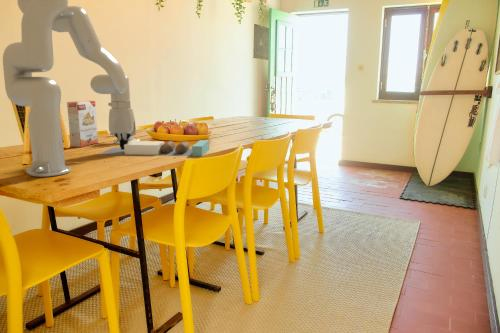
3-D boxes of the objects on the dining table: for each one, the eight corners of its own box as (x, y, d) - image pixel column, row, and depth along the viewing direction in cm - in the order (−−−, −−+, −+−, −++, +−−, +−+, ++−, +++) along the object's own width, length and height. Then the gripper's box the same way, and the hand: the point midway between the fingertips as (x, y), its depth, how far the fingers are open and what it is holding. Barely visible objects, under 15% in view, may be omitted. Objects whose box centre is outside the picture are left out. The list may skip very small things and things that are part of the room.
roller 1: (171, 148, 160) (164, 142, 160) (165, 155, 161) (158, 149, 161) (177, 145, 169) (170, 139, 169) (171, 151, 170) (164, 145, 170)
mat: (202, 157, 156) (202, 156, 156) (97, 155, 160) (97, 154, 160) (209, 150, 172) (209, 149, 172) (113, 148, 175) (113, 147, 175)
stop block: (202, 156, 156) (201, 146, 155) (192, 156, 157) (192, 146, 156) (209, 149, 172) (209, 140, 171) (200, 149, 172) (200, 140, 171)
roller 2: (183, 144, 159) (174, 145, 160) (185, 153, 160) (176, 154, 161) (188, 140, 168) (179, 141, 169) (190, 149, 169) (181, 150, 169)
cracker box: (81, 147, 178) (77, 101, 174) (70, 147, 179) (65, 101, 175) (99, 142, 192) (95, 100, 187) (88, 142, 193) (84, 100, 188)
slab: (158, 154, 159) (157, 145, 158) (124, 154, 160) (124, 144, 159) (164, 150, 169) (164, 141, 168) (133, 150, 169) (132, 141, 168)
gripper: (99, 106, 157) (103, 150, 162) (135, 106, 157) (138, 150, 161) (107, 104, 165) (110, 147, 169) (141, 105, 164) (144, 147, 168)
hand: (124, 148), depth 165 cm, fingers closed
